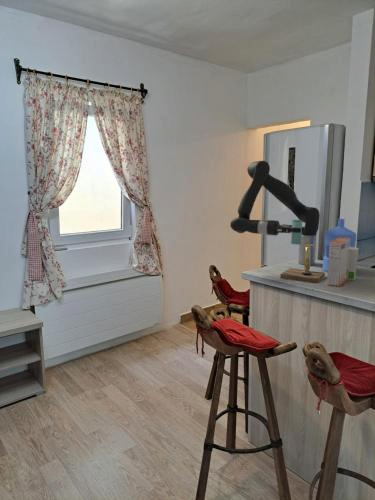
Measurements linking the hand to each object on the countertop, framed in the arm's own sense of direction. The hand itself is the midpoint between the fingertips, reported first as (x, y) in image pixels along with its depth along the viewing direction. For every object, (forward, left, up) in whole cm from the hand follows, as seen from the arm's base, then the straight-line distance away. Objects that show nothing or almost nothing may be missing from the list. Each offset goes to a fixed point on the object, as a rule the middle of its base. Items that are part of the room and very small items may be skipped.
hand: (302, 229), depth 174 cm
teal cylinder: (0, -3, -7) cm, 7 cm away
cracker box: (-4, +17, -25) cm, 30 cm away
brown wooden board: (-5, 0, -25) cm, 25 cm away
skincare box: (-15, +19, -25) cm, 35 cm away
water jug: (-29, +12, -25) cm, 40 cm away
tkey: (-7, +1, -22) cm, 23 cm away
